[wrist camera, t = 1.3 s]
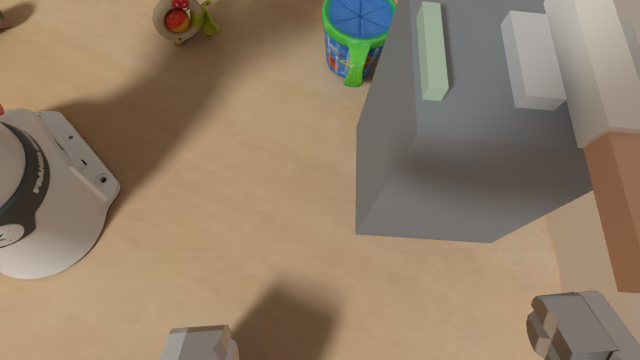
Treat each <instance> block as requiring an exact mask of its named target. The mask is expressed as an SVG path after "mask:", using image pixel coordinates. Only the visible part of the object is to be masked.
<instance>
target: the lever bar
mask: <svg viewBox="0 0 640 360" xmlns="http://www.w3.org/2000/svg"><path fill="white" fill-rule="evenodd" d="M544 7H545V12H546V14H547V17H548V21H549V25H550V30H551V34H552V38H553V42H554V46H555V51H556V55H557V59H558V63H559V67H560V72H561V76H562V80H563V84H564V88H565V93H566V97H567V104H568V108H569V113H570V117H571V121H572V125H573V129H574V134H575V138H576V142H577V146H578V148H583V149H584V154H585V158H586V162H587V166H588V170H589V174H590V178H591V182H592V186H593V191H594V194H595V198H596V203H597V207H598V211H599V215H600V219H601V223H602V227H603V232H604V235H605V240H606V244H607V248H608V252H609V256H610V260H611V265H612V269H613V273H614V277H615V281H616V285H617V289H618V292H629V293H640V81H639V78H638V75H637V72H636V69H635V66H634V63H633V60H632V56H631V53H630V50H629V47H628V44H627V41H626V38H625V35H624V32H623V29H622V26H621V23H620V21H619V17H618V14H617V11H616V8H615V5H614V2H613V0H545V1H544Z"/></svg>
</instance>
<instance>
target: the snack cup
mask: <svg viewBox="0 0 640 360" xmlns="http://www.w3.org/2000/svg"><path fill="white" fill-rule="evenodd" d="M395 9H396V4H395V2H394V1H393V0H325V1H324V3H323V5H322V13H321V16H322V23H323V27H324V33H325V46H326V58H327V62H328V66H329V68H330V69H331V70H332V71H334V72H335V73H336V74H337V75H339V76H341V77H344V78H345V79H344V81H343V84H344V85H346V86H349V87H360V86H361V85H362V84H363V78H362V77H364V76H366V75H367V74H369V73H370V72H371V71H372V70H373V68H374V66H375V65H376V63H377V61H378V59H379V57H380V55H381V52H382V49H383V46H384V43H385V39H386V36H387V33H388V30H389V27H390V24H391V21H392V18H393V15H394V12H395Z"/></svg>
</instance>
